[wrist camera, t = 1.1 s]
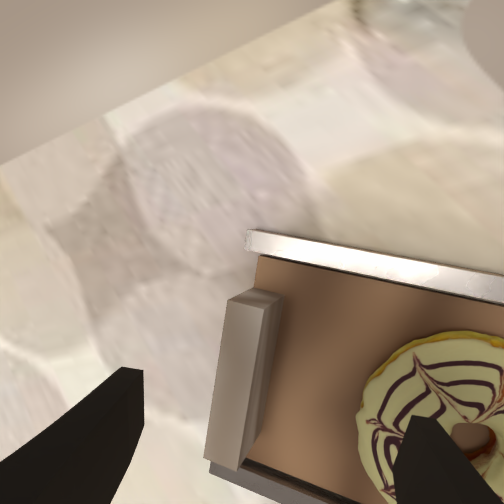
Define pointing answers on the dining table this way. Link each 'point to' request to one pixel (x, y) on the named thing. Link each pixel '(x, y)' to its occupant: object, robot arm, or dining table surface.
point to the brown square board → (321, 368)
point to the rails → (365, 262)
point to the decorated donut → (435, 401)
